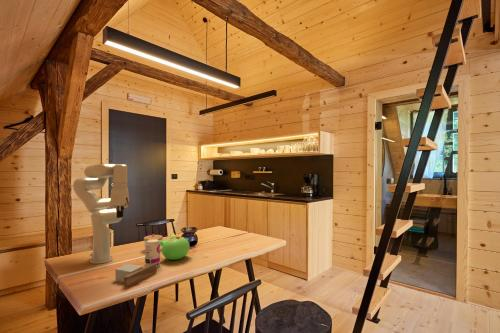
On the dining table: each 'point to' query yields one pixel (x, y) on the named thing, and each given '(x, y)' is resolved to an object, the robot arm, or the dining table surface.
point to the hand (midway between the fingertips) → (119, 217)
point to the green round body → (175, 247)
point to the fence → (139, 275)
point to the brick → (125, 271)
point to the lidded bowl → (153, 238)
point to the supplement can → (152, 252)
